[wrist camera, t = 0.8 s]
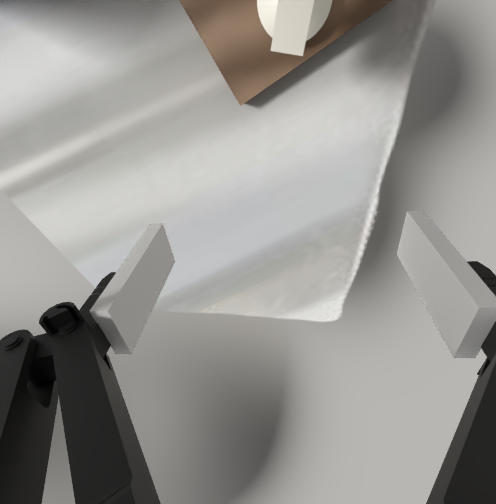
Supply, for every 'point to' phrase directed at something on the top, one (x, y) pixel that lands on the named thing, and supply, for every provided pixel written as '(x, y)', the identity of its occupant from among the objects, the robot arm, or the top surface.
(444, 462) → the robot arm
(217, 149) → the top surface
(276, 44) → the peg
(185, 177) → the top surface
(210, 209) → the top surface
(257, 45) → the wooden base board
